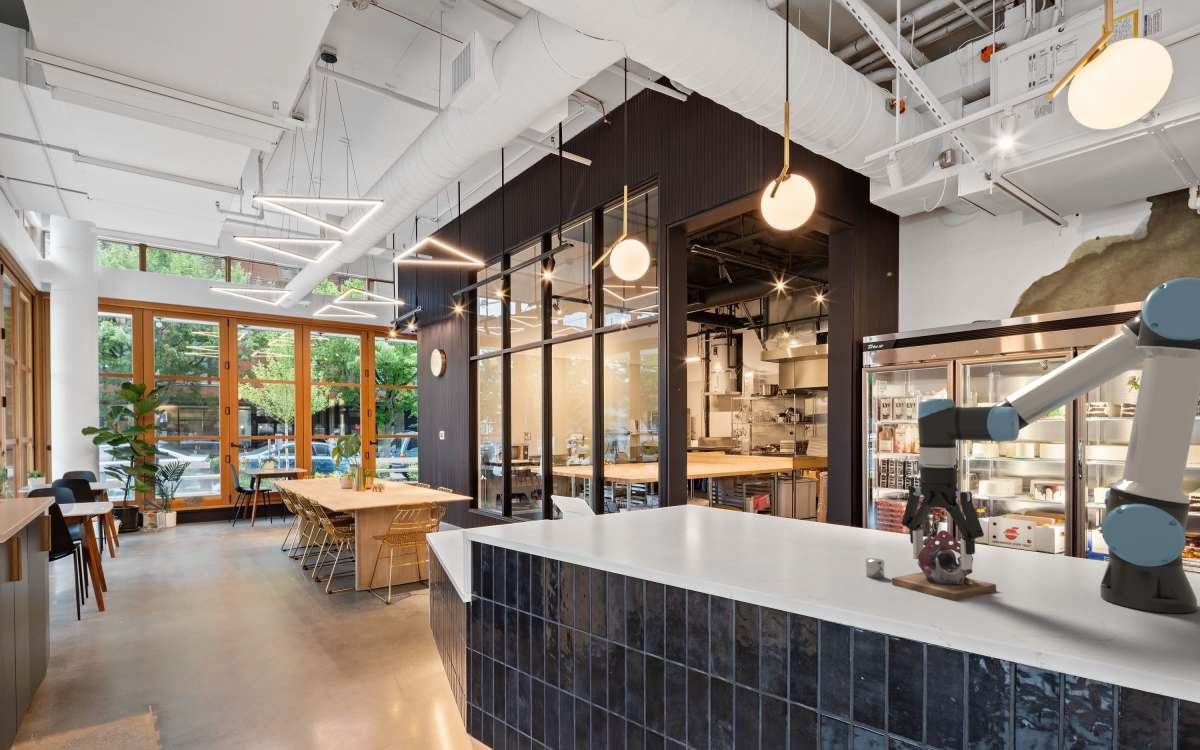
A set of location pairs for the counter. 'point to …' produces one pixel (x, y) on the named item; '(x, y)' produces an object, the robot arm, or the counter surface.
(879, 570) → the grey metallic cube
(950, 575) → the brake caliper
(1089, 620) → the counter surface
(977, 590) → the stand
